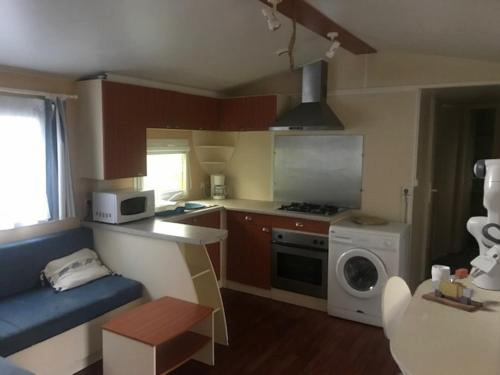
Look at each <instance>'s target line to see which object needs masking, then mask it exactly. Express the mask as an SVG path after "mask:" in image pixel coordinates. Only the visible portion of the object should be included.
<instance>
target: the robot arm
mask: <svg viewBox="0 0 500 375" xmlns="http://www.w3.org/2000/svg"><path fill="white" fill-rule="evenodd" d="M473 172H474V174H475V177H477V178H479V179H484V183H483V184H484V185H483V202H482V203H483V207H484V208H485V209H486V210H487V216H472V217H470V218H469V219H468V220H467V223H466V229H467V231H468V232H469V233H470V234H471V235H472V236H473V237H474V238H475V240H476V241H477V243H478V246H479V255H478V256H477V257H475V258H474V259H473V260H471V261H470V262H469V263H470V265H471V266H472V267H473V268H474V269H473V272H471V273H470V276H471V277H473V280H471V284H473V285H475V286H476V287H478V288H481V289H485V290H491V291H500V158H496V159H493V158H492V159H491V158H490V159H484V158H483V159H478V160H477V161H476V163H475V165H474V167H473Z"/></svg>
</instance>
